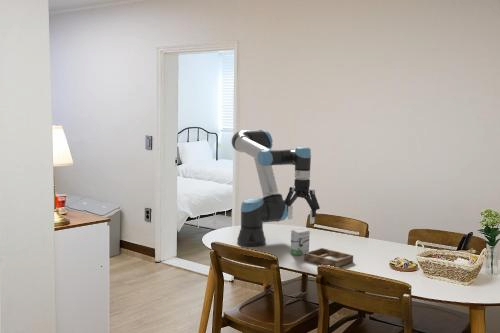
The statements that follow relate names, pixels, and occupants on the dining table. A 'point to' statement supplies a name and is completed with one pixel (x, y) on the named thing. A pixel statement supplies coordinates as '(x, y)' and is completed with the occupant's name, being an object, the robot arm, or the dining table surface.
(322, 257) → the walled box
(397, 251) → the dining table surface
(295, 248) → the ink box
